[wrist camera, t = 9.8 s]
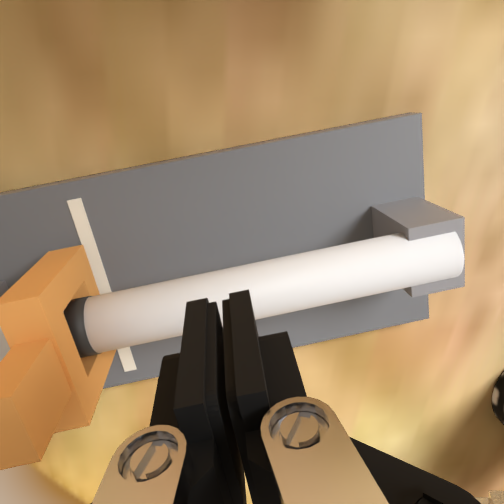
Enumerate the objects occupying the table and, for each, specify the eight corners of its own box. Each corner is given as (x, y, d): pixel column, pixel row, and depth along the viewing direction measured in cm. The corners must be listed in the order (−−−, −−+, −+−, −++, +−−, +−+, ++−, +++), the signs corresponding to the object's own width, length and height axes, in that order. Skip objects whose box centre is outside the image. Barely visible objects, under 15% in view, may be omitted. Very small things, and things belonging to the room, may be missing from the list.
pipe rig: (409, 112, 26) (485, 115, 19) (418, 308, 31) (481, 368, 24) (-75, 207, 25) (-183, 247, 18) (12, 395, 30) (-47, 486, 23)
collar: (83, 244, 24) (-6, 347, 14) (117, 346, 27) (63, 498, 17) (48, 251, 24) (-66, 360, 14) (86, 353, 27) (12, 509, 16)
